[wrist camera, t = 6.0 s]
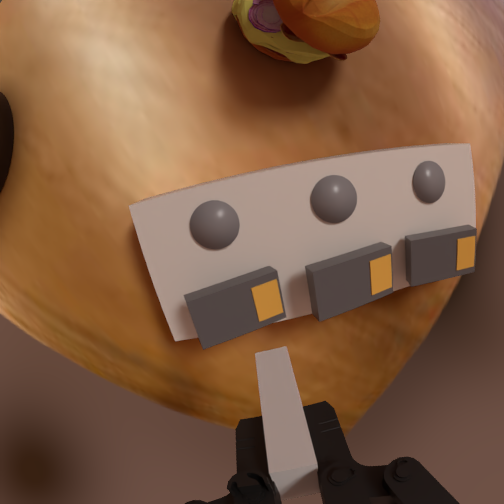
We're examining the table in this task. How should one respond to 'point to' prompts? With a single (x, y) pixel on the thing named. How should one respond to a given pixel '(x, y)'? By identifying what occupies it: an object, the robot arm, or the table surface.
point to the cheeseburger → (307, 27)
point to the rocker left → (236, 306)
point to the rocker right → (440, 254)
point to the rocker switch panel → (299, 220)
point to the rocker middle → (350, 280)
